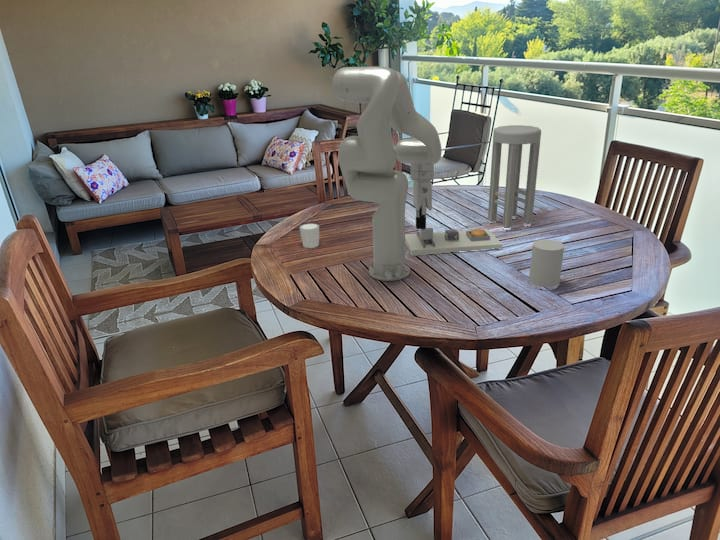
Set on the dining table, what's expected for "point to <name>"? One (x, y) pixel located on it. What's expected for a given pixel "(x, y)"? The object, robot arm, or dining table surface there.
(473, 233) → the push button
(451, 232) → the rocker switch
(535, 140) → the stool
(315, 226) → the shot glass
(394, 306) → the dining table surface
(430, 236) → the grey slider handle
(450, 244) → the switch panel
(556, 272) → the cup
